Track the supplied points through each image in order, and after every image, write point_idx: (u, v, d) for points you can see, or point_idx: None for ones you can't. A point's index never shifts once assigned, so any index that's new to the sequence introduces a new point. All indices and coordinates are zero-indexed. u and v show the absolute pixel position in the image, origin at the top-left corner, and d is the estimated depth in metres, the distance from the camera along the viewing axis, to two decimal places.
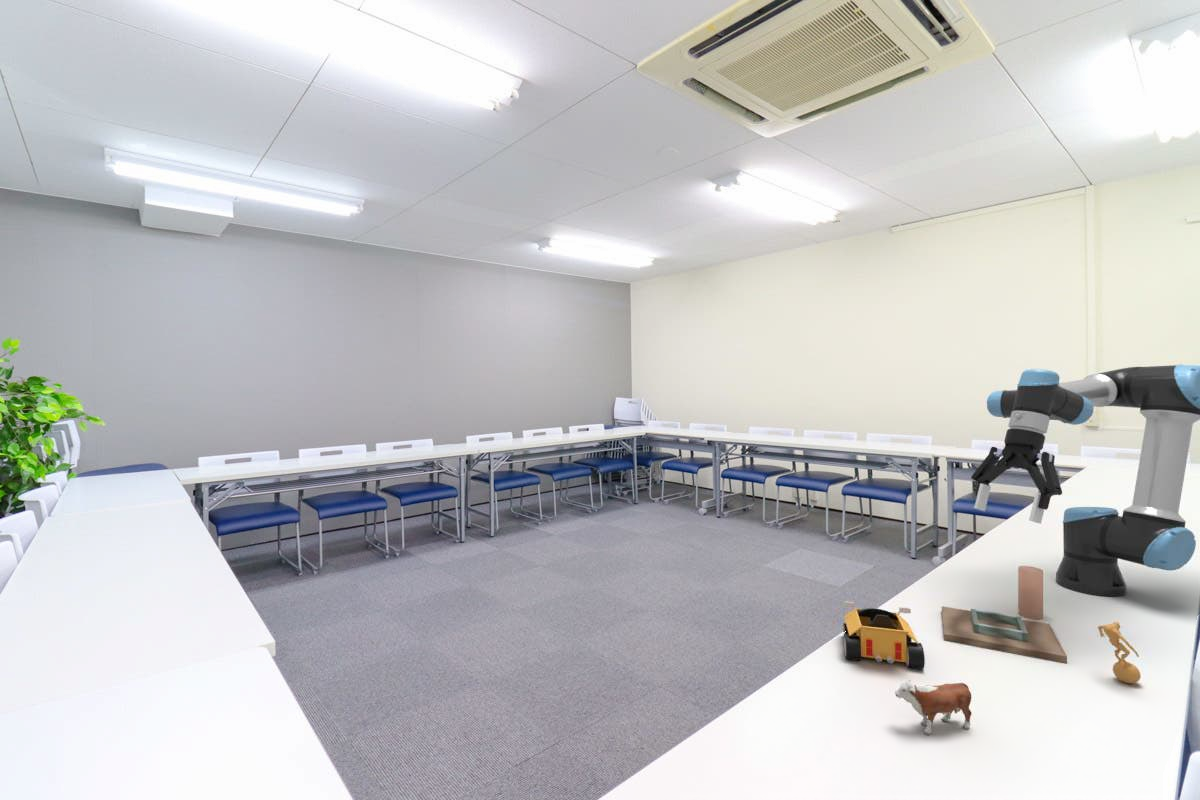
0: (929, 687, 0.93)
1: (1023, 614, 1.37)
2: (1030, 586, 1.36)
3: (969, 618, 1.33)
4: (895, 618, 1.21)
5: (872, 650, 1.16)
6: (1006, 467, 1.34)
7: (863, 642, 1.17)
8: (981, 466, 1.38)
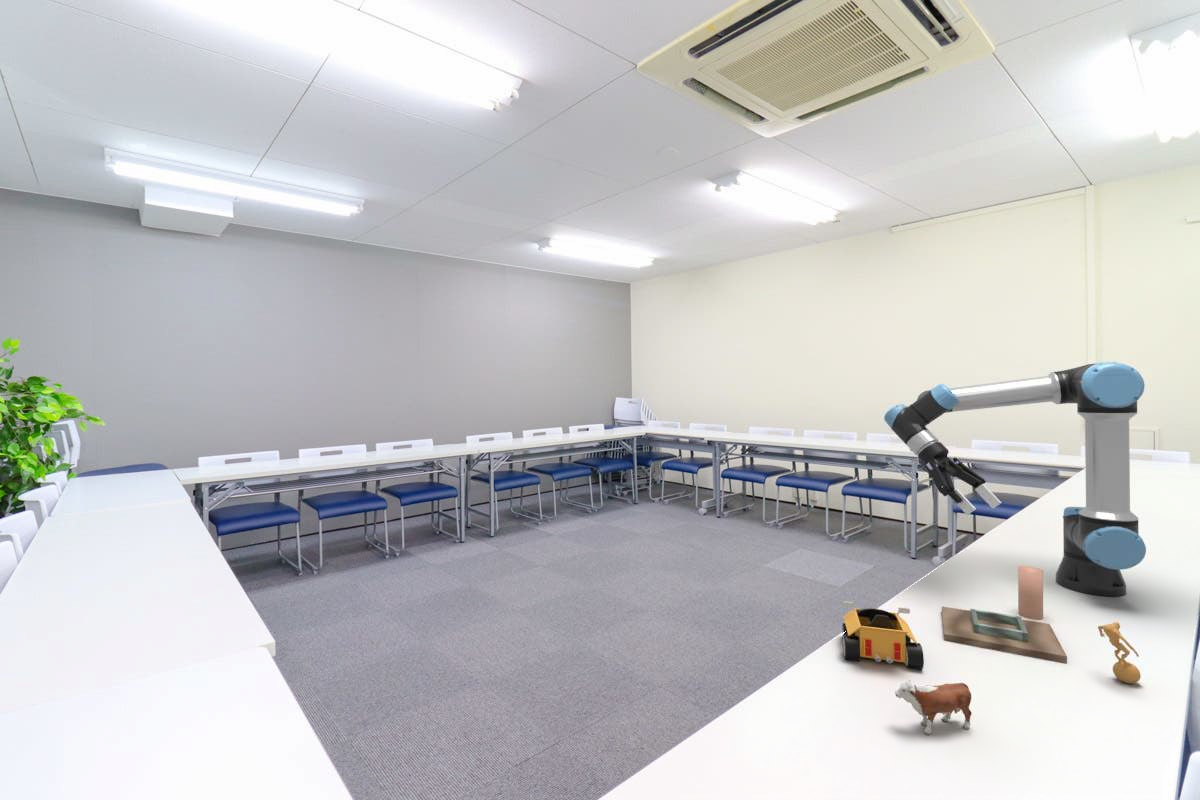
0: (929, 687, 0.93)
1: (1023, 614, 1.37)
2: (1030, 586, 1.36)
3: (969, 618, 1.33)
4: (894, 618, 1.21)
5: (871, 650, 1.16)
6: (960, 471, 1.54)
7: (862, 642, 1.17)
8: None
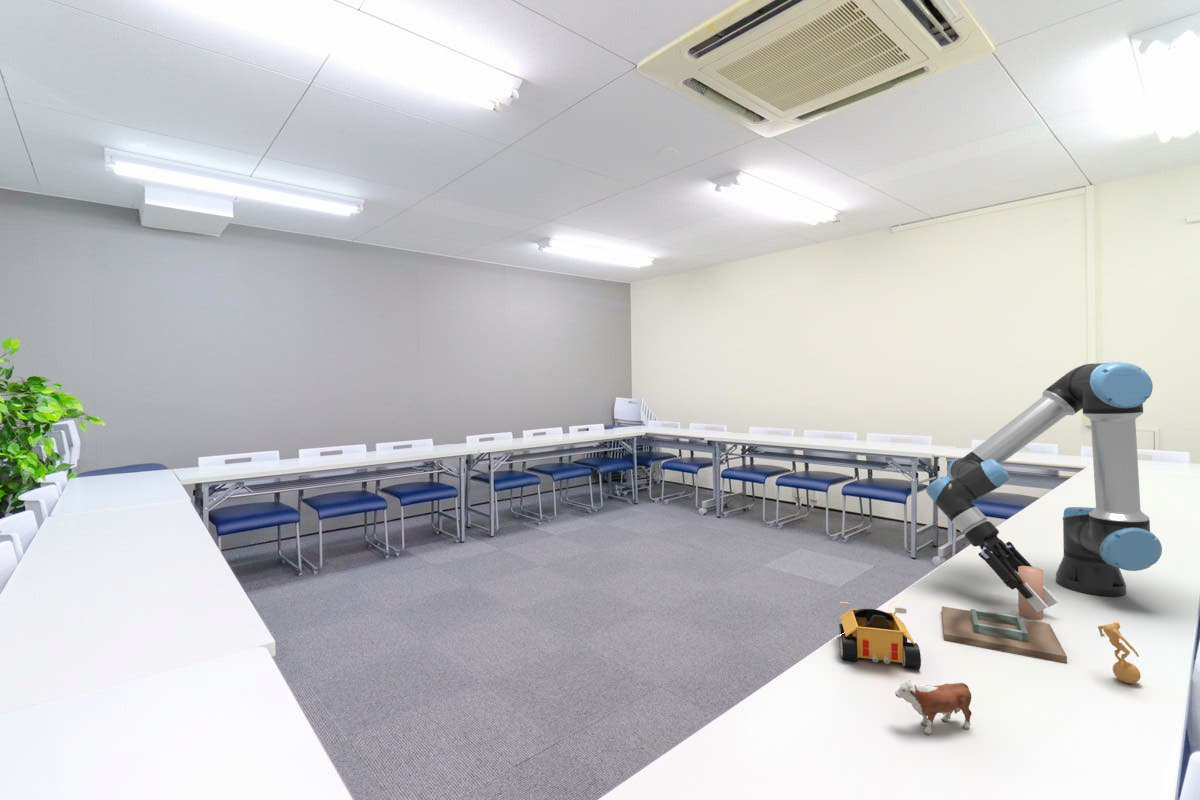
0: (929, 687, 0.93)
1: (1023, 614, 1.37)
2: (1030, 586, 1.36)
3: (969, 618, 1.33)
4: (891, 618, 1.21)
5: (868, 651, 1.16)
6: (1010, 557, 1.43)
7: (859, 643, 1.16)
8: None
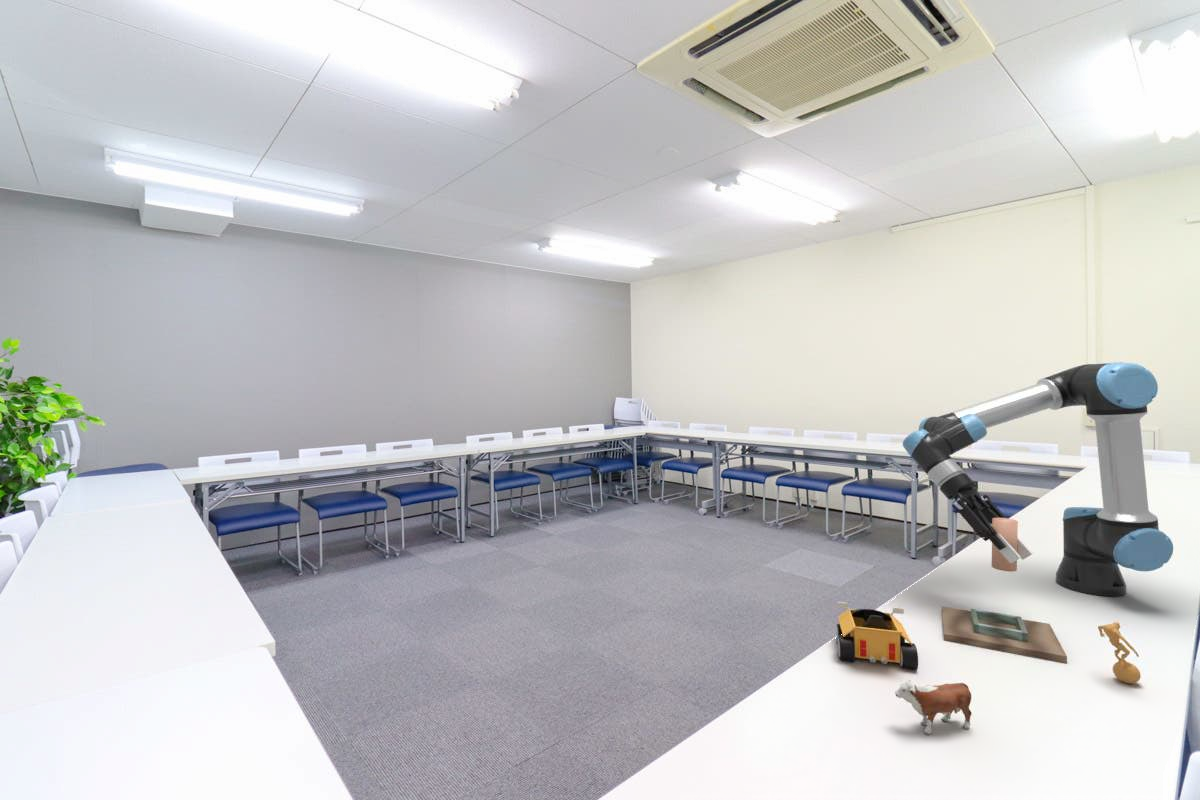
0: (929, 687, 0.93)
1: (996, 566, 1.32)
2: (1003, 537, 1.31)
3: (969, 618, 1.33)
4: (888, 618, 1.21)
5: (866, 651, 1.16)
6: (985, 509, 1.38)
7: (857, 643, 1.16)
8: None
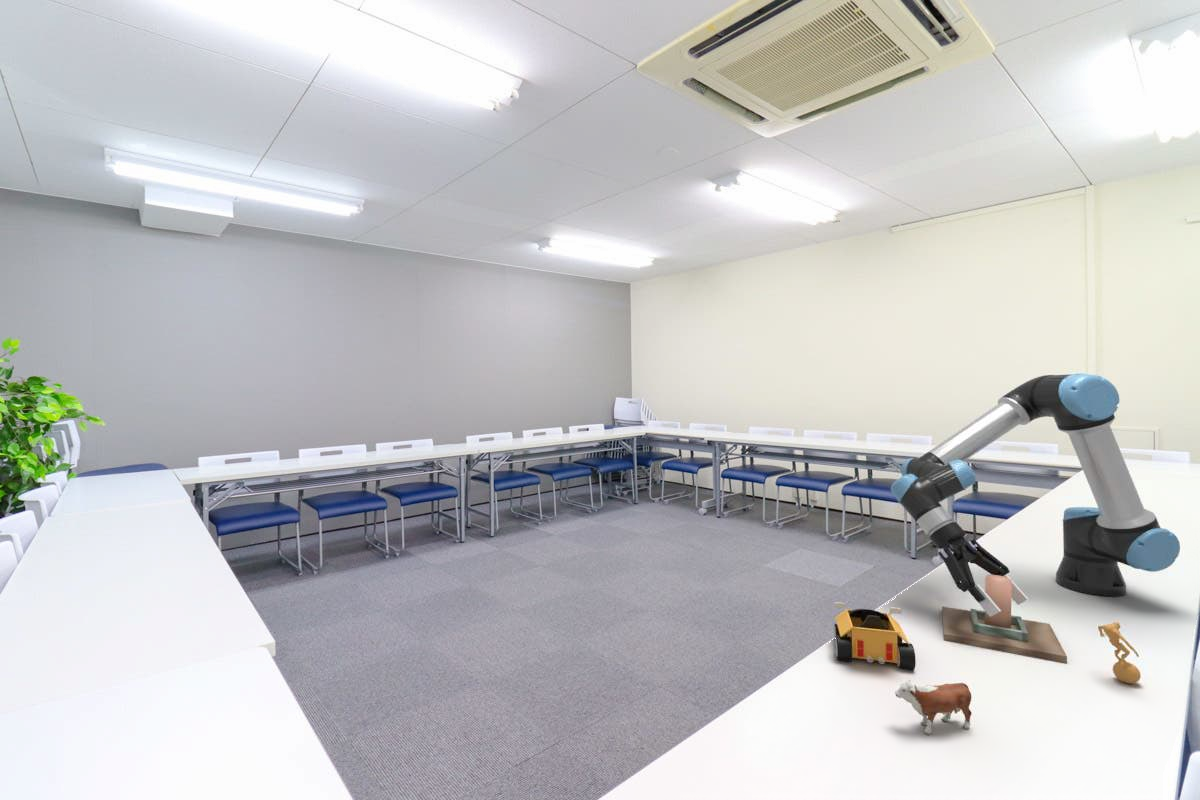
0: (929, 687, 0.93)
1: None
2: (997, 597, 1.25)
3: (969, 618, 1.33)
4: (886, 618, 1.21)
5: (863, 651, 1.16)
6: (978, 558, 1.33)
7: (854, 643, 1.16)
8: None
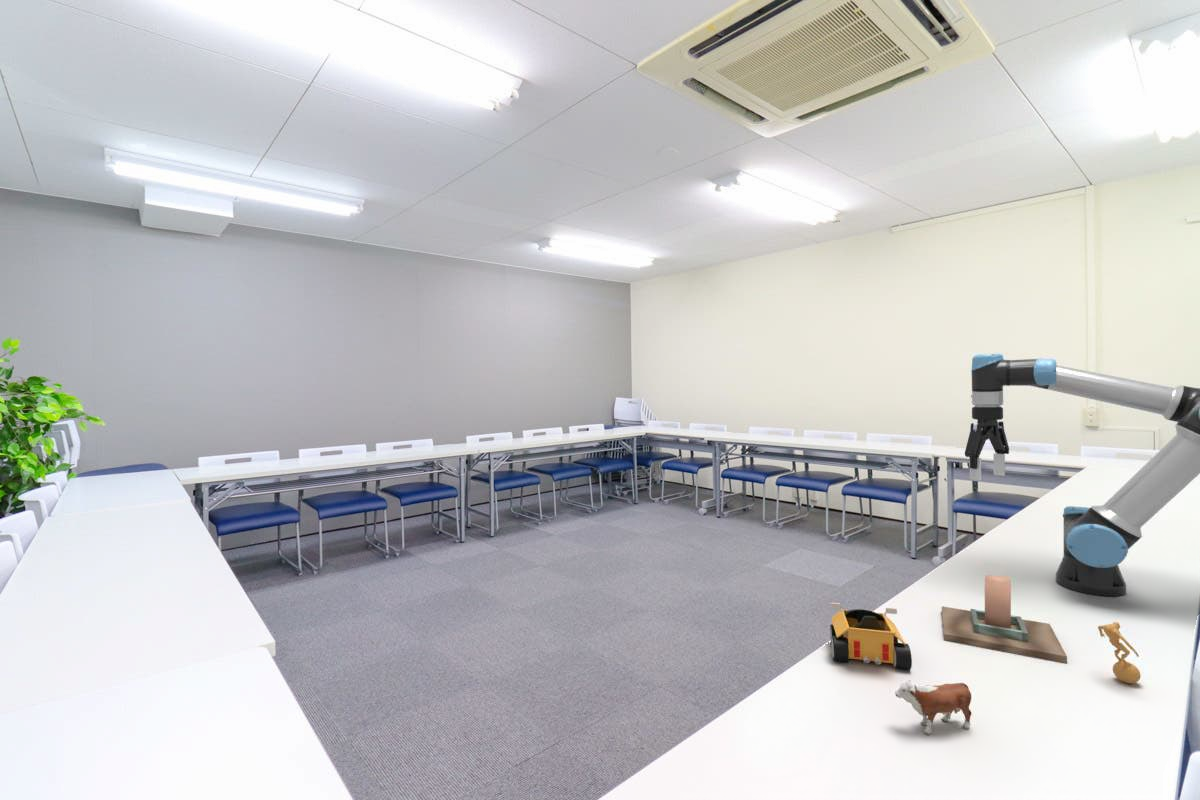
0: (929, 687, 0.93)
1: None
2: (996, 597, 1.25)
3: (969, 618, 1.33)
4: (882, 619, 1.21)
5: (860, 652, 1.15)
6: (995, 437, 1.60)
7: (851, 644, 1.16)
8: None
